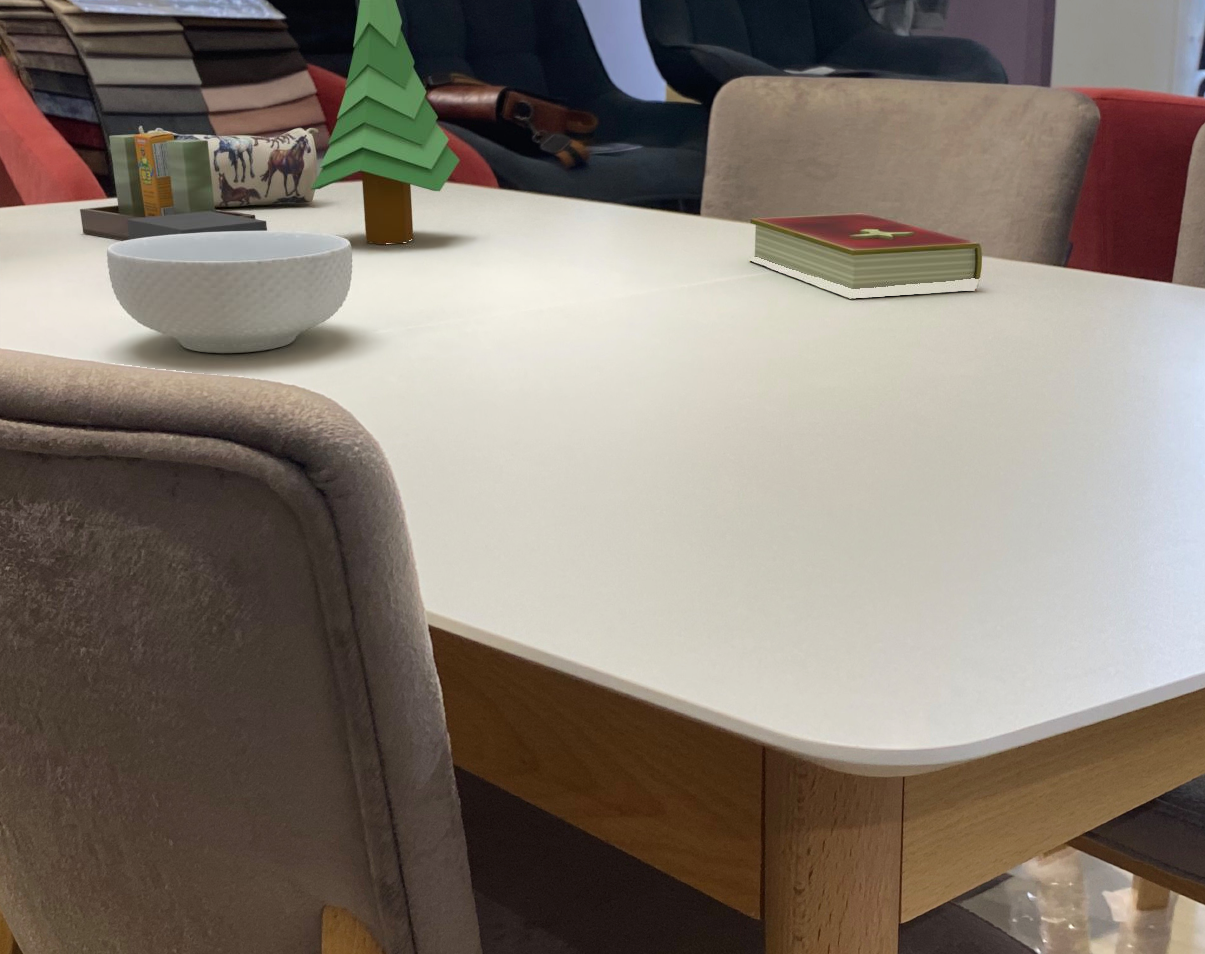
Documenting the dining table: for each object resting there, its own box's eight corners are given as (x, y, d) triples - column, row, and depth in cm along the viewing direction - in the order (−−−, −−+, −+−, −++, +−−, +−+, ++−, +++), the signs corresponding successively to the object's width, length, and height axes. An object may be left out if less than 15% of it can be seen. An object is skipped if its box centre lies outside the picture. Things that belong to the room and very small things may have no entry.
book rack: (181, 250, 146) (169, 145, 142) (83, 233, 158) (69, 136, 154) (257, 240, 152) (248, 139, 148) (157, 224, 164) (146, 131, 160)
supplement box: (143, 231, 154) (131, 133, 150) (172, 228, 157) (160, 131, 153) (160, 234, 152) (148, 134, 148) (188, 231, 154) (177, 132, 151)
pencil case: (142, 214, 172) (131, 128, 169) (142, 206, 180) (132, 124, 176) (327, 207, 178) (320, 124, 174) (320, 199, 186) (313, 119, 182)
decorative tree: (300, 250, 145) (273, -81, 133) (352, 230, 159) (332, -71, 148) (431, 253, 142) (414, -83, 131) (472, 232, 157) (460, -73, 145)
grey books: (197, 297, 121) (190, 231, 119) (125, 282, 128) (117, 219, 126) (290, 282, 127) (284, 219, 125) (216, 269, 134) (210, 209, 132)
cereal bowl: (393, 351, 101) (387, 247, 98) (151, 379, 93) (137, 268, 90) (312, 312, 114) (304, 220, 112) (95, 334, 107) (82, 236, 104)
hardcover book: (863, 254, 140) (866, 209, 138) (979, 290, 121) (984, 239, 120) (749, 261, 136) (750, 215, 135) (849, 299, 118) (852, 246, 116)
